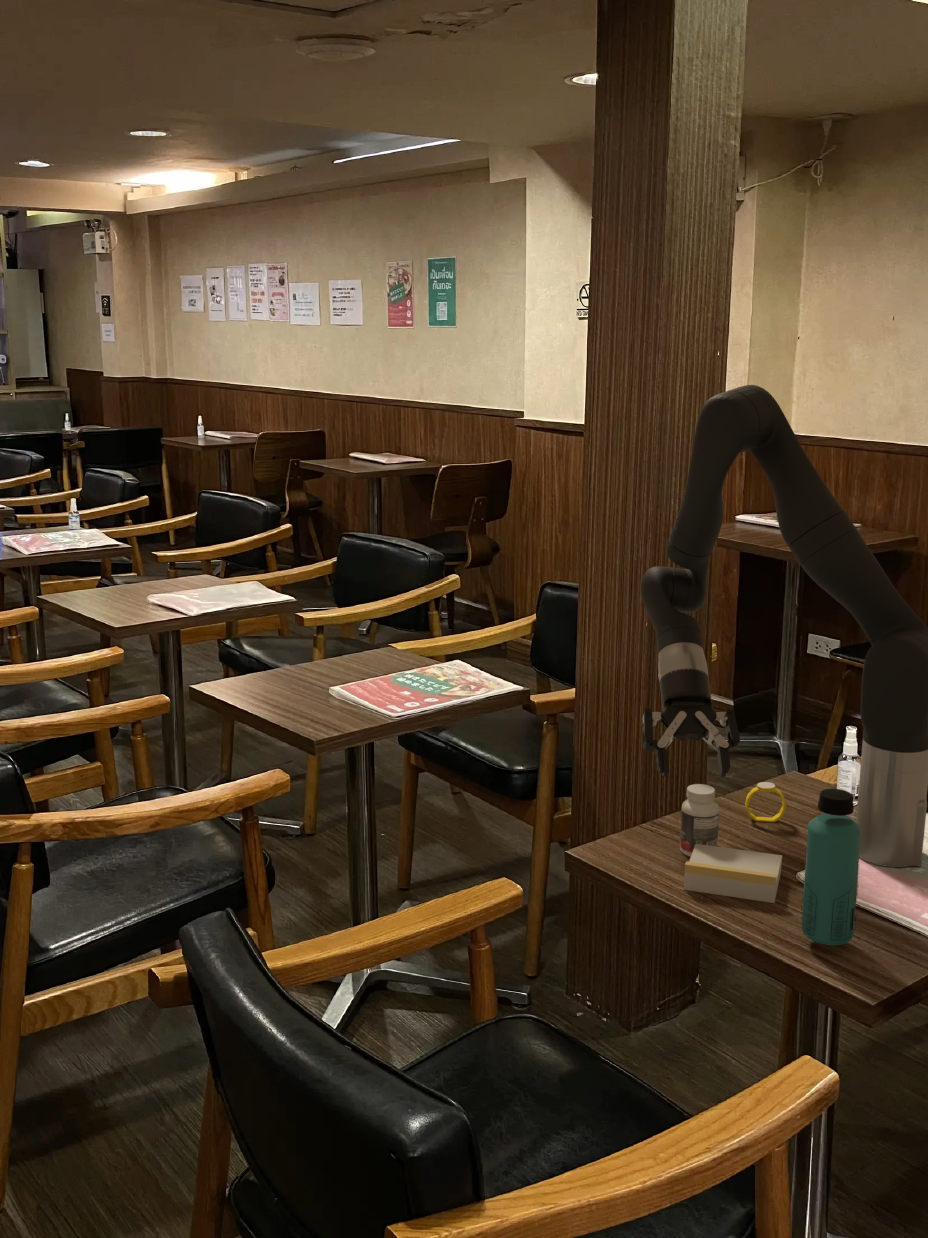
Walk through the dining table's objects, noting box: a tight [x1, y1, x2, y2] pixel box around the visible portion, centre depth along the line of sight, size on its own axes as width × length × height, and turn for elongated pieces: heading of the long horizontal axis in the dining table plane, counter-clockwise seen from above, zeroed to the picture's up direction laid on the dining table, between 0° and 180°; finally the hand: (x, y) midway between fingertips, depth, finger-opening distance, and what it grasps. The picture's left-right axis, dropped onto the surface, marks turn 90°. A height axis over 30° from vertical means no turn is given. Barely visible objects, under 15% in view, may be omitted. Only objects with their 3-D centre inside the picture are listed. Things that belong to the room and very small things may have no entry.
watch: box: [744, 781, 787, 823], centre depth 185 cm, size 6×3×6 cm, turn 83°
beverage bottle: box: [800, 788, 861, 946], centre depth 146 cm, size 6×7×20 cm
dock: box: [683, 844, 783, 904], centre depth 165 cm, size 12×10×4 cm
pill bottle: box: [679, 783, 720, 858], centre depth 173 cm, size 5×5×10 cm
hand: (694, 774), depth 177 cm, fingers open, 8 cm apart
